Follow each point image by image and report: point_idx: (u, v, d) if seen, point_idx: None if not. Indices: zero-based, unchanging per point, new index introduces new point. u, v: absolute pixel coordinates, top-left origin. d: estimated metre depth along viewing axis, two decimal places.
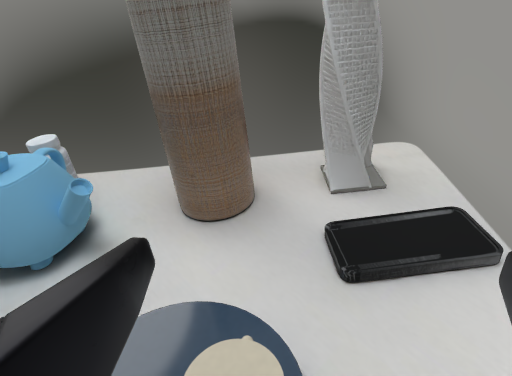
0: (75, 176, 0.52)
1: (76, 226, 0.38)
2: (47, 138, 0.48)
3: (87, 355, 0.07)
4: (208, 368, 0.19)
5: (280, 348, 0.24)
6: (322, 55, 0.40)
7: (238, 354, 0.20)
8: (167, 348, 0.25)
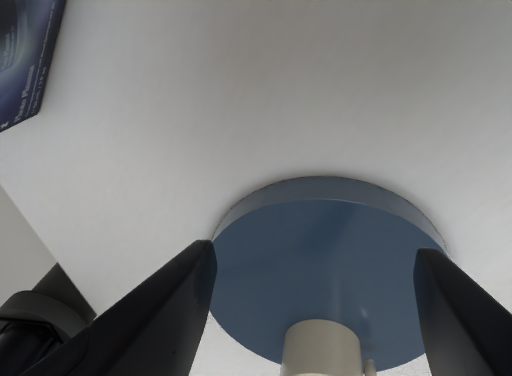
0: None
1: None
2: None
3: (168, 365, 0.07)
4: None
5: (390, 363, 0.26)
6: None
7: None
8: (386, 286, 0.22)
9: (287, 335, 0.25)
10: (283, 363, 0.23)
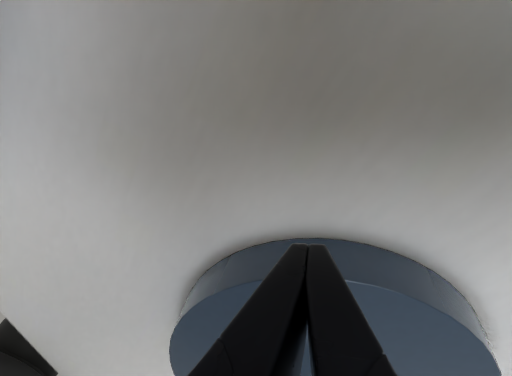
0: None
1: None
2: None
3: None
4: None
5: None
6: None
7: None
8: None
9: None
10: None
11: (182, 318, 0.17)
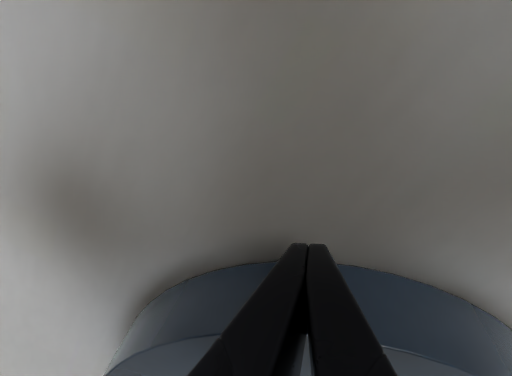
0: None
1: None
2: None
3: None
4: None
5: None
6: None
7: None
8: None
9: None
10: None
11: None
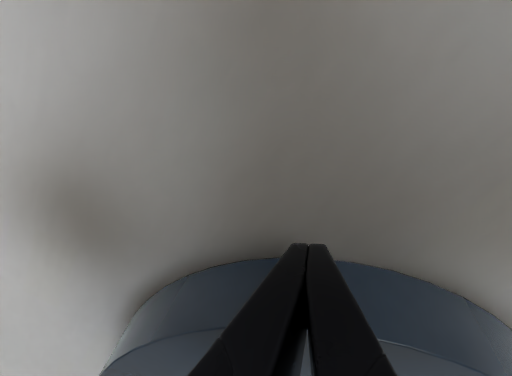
0: None
1: None
2: None
3: None
4: None
5: None
6: None
7: None
8: None
9: None
10: None
11: (101, 375, 0.11)
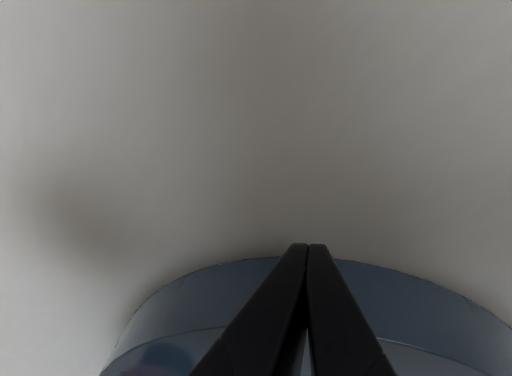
0: None
1: None
2: None
3: None
4: None
5: None
6: None
7: None
8: None
9: None
10: None
11: (102, 374, 0.11)
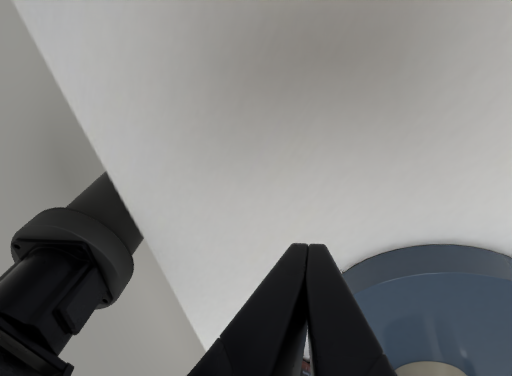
0: None
1: None
2: None
3: None
4: None
5: None
6: None
7: None
8: (509, 350, 0.23)
9: (398, 375, 0.25)
10: None
11: None
